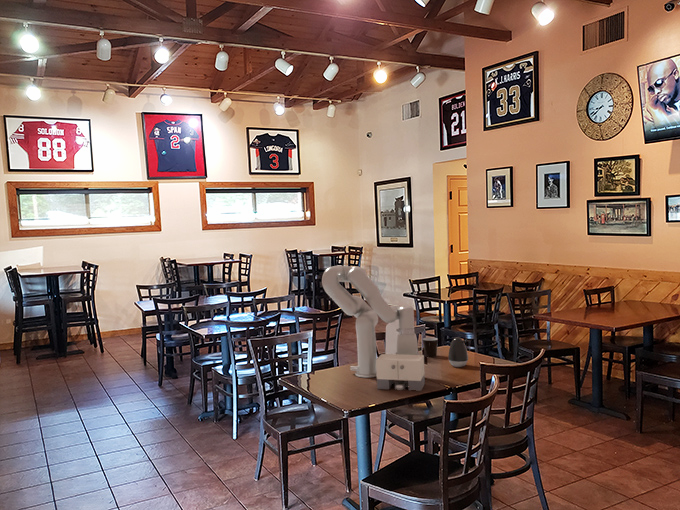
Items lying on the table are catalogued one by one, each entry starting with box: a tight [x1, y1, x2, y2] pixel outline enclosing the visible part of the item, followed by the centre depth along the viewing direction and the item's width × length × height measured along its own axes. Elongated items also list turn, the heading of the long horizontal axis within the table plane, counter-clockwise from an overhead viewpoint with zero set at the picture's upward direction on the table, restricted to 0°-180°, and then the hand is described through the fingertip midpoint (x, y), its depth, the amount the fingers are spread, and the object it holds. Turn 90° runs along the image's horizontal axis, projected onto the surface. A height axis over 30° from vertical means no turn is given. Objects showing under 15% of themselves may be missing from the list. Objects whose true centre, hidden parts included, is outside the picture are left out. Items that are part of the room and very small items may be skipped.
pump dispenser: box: [447, 336, 469, 368], centre depth 280 cm, size 10×10×15 cm
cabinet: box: [376, 353, 426, 392], centre depth 245 cm, size 20×13×14 cm, turn 73°
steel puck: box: [394, 382, 406, 391], centre depth 242 cm, size 5×5×2 cm
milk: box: [384, 320, 399, 354], centre depth 307 cm, size 12×12×26 cm
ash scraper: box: [394, 380, 409, 388], centre depth 256 cm, size 6×24×10 cm, turn 164°
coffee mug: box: [422, 337, 439, 359], centre depth 304 cm, size 12×9×10 cm
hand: (407, 368), depth 264 cm, fingers closed on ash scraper, 1 cm apart
